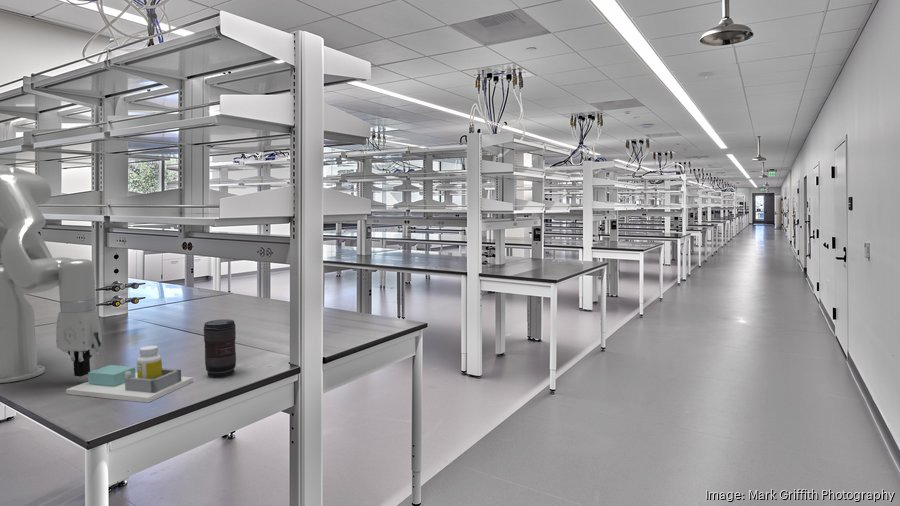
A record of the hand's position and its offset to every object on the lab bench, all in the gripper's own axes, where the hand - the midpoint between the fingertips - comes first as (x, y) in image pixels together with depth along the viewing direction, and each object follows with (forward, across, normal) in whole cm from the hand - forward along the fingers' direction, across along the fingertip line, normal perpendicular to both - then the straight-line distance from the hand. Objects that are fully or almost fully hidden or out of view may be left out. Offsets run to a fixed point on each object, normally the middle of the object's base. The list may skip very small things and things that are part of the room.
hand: (82, 374), depth 133 cm
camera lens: (+3, +30, +15) cm, 34 cm away
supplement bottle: (+1, +21, 0) cm, 21 cm away
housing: (+1, +10, 0) cm, 10 cm away
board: (+2, +16, 0) cm, 16 cm away
